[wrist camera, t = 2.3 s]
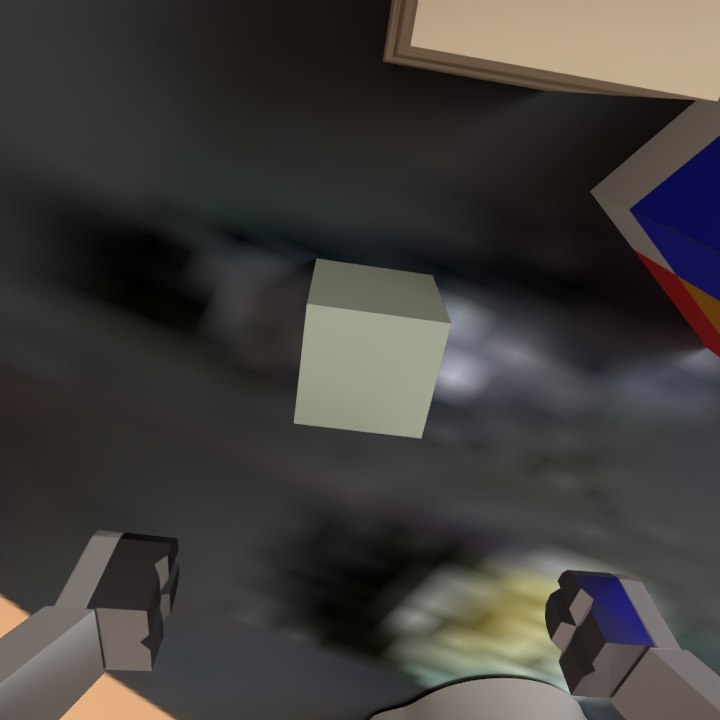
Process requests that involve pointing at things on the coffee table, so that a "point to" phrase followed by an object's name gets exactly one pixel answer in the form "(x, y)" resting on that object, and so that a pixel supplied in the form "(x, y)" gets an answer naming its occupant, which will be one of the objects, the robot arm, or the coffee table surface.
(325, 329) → the sage cube
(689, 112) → the puzzle toy
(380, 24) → the coffee table surface
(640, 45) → the tower mid
